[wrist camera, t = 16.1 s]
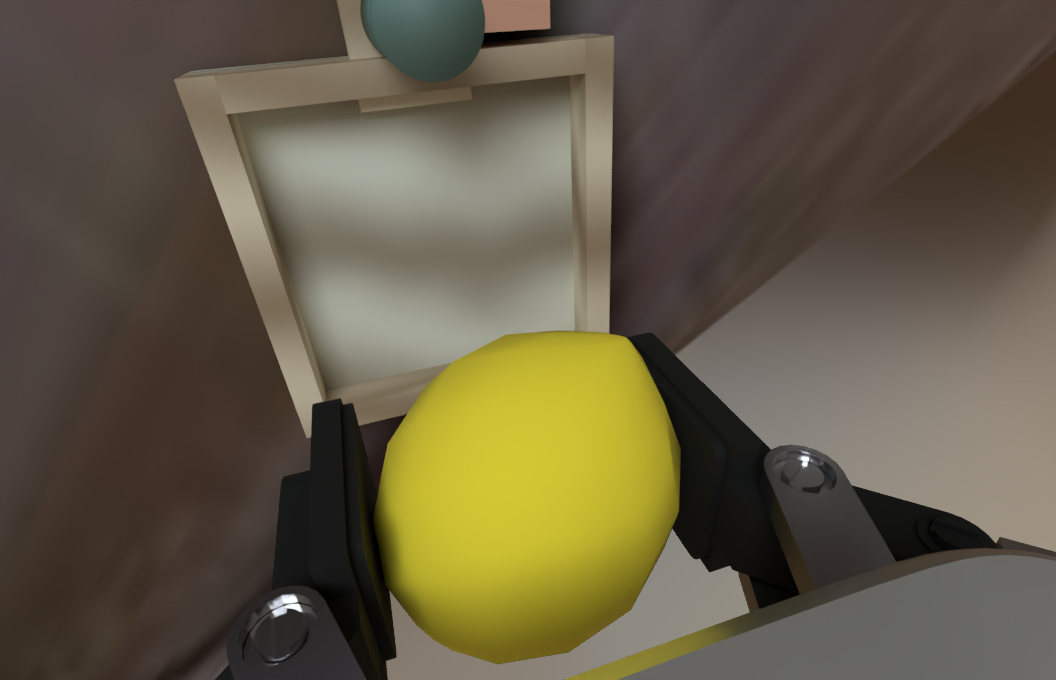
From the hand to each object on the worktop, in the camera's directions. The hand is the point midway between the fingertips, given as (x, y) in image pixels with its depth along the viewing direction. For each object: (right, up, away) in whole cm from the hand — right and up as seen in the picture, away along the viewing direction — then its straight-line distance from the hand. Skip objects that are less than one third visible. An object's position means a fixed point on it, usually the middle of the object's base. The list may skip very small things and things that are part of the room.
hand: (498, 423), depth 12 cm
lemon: (0, 0, +1) cm, 1 cm away
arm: (-3, +8, +8) cm, 12 cm away
